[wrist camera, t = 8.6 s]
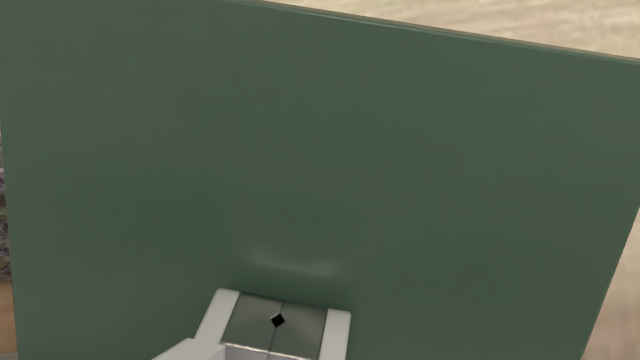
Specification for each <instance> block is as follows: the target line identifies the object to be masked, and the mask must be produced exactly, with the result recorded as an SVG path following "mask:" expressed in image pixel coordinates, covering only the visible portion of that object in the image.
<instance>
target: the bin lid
mask: <svg viewBox="0 0 640 360" xmlns="http://www.w3.org/2000/svg"><path fill="white" fill-rule="evenodd" d="M0 129H1V143H2V156H3V169H4V182H5V195H6V208H7V221H8V234H9V248H10V261H11V274H12V287H13V300H14V313H15V326H16V340H17V353H18V360H152V359H153V358H155V357H157V356H158V355H160V354H161V353H163V352H165V351H166V350H168V349H170V348H171V347H173V346H175V345H176V344H178V343H179V342H181V341H183V340H184V339H186V338H190V339H194V337H195V335H196V332H197V330H198V328H199V326H200V324H201V322H202V320H203V318H204V315H205V313H206V311H207V309H208V307H209V305H210V303H211V300H212V298H213V296H214V294H215V292H216V291H217V290H218V289H219V288H220V287H221V288H226V289H230V290H235V291H239V292H247V293H251V294H256V295H261V296H265V297H270V298H275V299H280V300H284V301H291V302H296V303H302V304H307V305H313V306H318V307H324V308H328V309H329V308H331V309H337V310H343V311H349V312H350V313H351V320H350V328H349V335H348V343H347V350H346V358H345V360H581V358H582V356H583V353H584V350H585V348H586V345H587V343H588V340H589V337H590V335H591V332H592V330H593V327H594V324H595V322H596V319H597V317H598V314H599V311H600V309H601V306H602V304H603V301H604V298H605V296H606V293H607V291H608V288H609V285H610V283H611V280H612V278H613V275H614V272H615V270H616V267H617V265H618V262H619V259H620V257H621V254H622V252H623V249H624V246H625V244H626V241H627V239H628V236H629V233H630V231H631V228H632V226H633V223H634V220H635V218H636V215H637V212H638V210H639V207H640V59H637V58H631V57H624V56H618V55H611V54H605V53H599V52H592V51H586V50H579V49H573V48H566V47H560V46H553V45H547V44H540V43H534V42H527V41H521V40H515V39H508V38H502V37H495V36H489V35H482V34H476V33H469V32H463V31H456V30H450V29H444V28H437V27H431V26H424V25H418V24H411V23H405V22H398V21H392V20H385V19H379V18H373V17H366V16H360V15H353V14H347V13H340V12H334V11H327V10H321V9H314V8H308V7H301V6H295V5H289V4H282V3H276V2H269V1H263V0H0ZM327 312H328V310H327ZM326 318H327V317H326Z"/></svg>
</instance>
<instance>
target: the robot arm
mask: <svg viewBox="0 0 640 360" xmlns="http://www.w3.org/2000/svg"><path fill="white" fill-rule="evenodd" d="M327 310H328V312H327ZM326 317H327V318H326ZM350 320H351V313H350V312H349V311H343V310H337V309H331V308H329V309H328V308H324V307H318V306H313V305H307V304H302V303H296V302H291V301H284V300H280V299H275V298H270V297H265V296H261V295H256V294H251V293H247V292H239V291H235V290H230V289H226V288H221V287H220V288H219V289H218V290H217V291H216V292H215V294H214V296H213V298H212V300H211V303H210V305H209V307H208V309H207V311H206V313H205V315H204V318H203V320H202V322H201V324H200V326H199V328H198V330H197V332H196V335H195V337H194V339H190V338H186V339H184V340H183V341H181V342H179V343H178V344H176V345H175V346H173V347H171V348H170V349H168V350H166V351H165V352H163V353H161V354H160V355H158V356H157V357H155V358H153V359H152V360H345V358H346V350H347V343H348V335H349V328H350Z"/></svg>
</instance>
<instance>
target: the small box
mask: <svg viewBox="0 0 640 360" xmlns="http://www.w3.org/2000/svg"><path fill="white" fill-rule="evenodd" d="M0 360H18V353H17V352H3V353H0Z"/></svg>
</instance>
